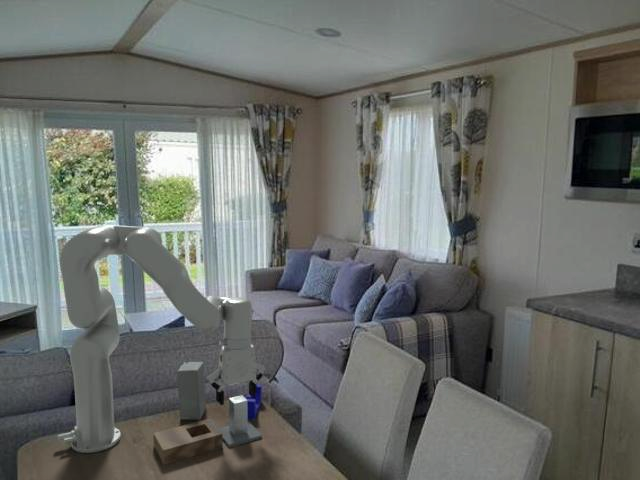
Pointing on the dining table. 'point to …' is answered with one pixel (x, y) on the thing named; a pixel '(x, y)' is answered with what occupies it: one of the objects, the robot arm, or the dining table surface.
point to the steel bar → (238, 416)
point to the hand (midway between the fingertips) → (236, 399)
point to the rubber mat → (241, 439)
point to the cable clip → (254, 403)
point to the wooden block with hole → (187, 441)
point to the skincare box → (191, 390)
